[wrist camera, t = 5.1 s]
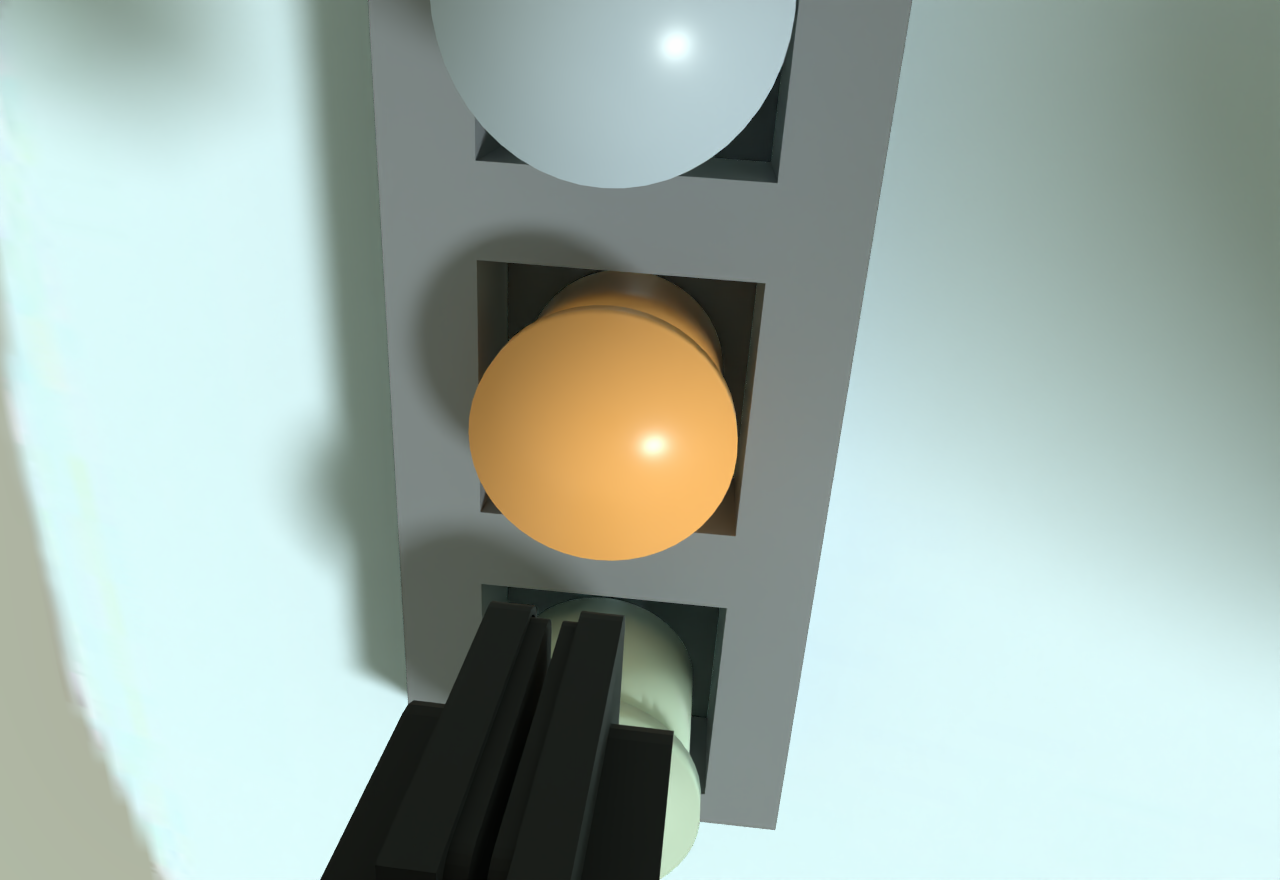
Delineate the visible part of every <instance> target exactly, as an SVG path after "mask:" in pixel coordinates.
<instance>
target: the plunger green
mask: <svg viewBox="0 0 1280 880" xmlns="http://www.w3.org/2000/svg"><path fill="white" fill-rule="evenodd" d="M582 611H589V612H599V613H608V614H617V615H625V636H624V651H623V667H622V682H621V698H620V713H619V724H620V725H629V726H637V727H646V728H654V729H663V730H671V731H674V736H673V746H672V757H671V767H670V777H669V788H668V798H667V808H666V819H665V829H664V839H663V849H662V860H661V870H660V879H661V878H663V877H664V876H666V875H667V874H669V873H670V872H671V871H672V870H673V869H675V868H676V867H677V866H678V865H679V864H680V863H681V862H682V860H683V859H684V858H685V857H686V856H687V854H688V852H689V851H690V849H691V848H692V846H693V844H694V841H695V839H696V836H697V833H698V828H699V824H700V798H701V788H700V781H699V776H698V773H697V770H696V766H695V764H694V762H693V760H692V758H691V756H690V754H689V750H690V730H691V710H692V690H693V670H692V663H691V660H690V657H689V654H688V652H687V650H686V648H685V645H684V644H683V642H682V641H681V639H680V638H679V636H678V635H677V634H676V633H675V632H674V630H673V629H672V628H671V627H670V626H669V625H667V624H666V623H665V622H664V621H663V620H662V619H660V618H659V617H657V616H656V615H654V614H653V613H651V612H649V611H647V610H645V609H644V608H642V607H639V606H637V605H634V604H631V603H628V602H624V601H621V600H616V599H610V598H596V597H593V598H580V599H575V600H570V601H566V602H563V603H560V604H557V605H555V606H553V607H551V608H549V609H547V610H545V611H544V612H542V613H541V614H539V615H538V616H537V618H546V619H550V620H551V624H552V634H551V658H552V655H553V651H554V648H555V645H556V641H557V638H558V635H559V631H560V628H561V625H562V622H563V621H573V622H578V620H579V616H580V613H581V612H582Z"/></svg>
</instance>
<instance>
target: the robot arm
mask: <svg viewBox="0 0 1280 880" xmlns="http://www.w3.org/2000/svg"><path fill="white" fill-rule="evenodd" d="M551 634H552V624H551V620H550V619H546V618H537V609H536V607H535V605H526V604H517V603H508V602H499V601H492V602H490V604H489V606H488V608H487V610H486V612H485V614H484V617H483V619H482V621H481V624H480V626H479V628H478V630H477V633H476V635H475V637H474V640H473V642H472V644H471V646H470V649H469V651H468V653H467V656H466V658H465V660H464V662H463V665H462V667H461V669H460V672H459V674H458V676H457V678H456V681H455V683H454V685H453V687H452V690H451V692H450V694H449V697H448V699H447V701H446V703H445V704H442V703H434V702H425V701H417V700H413V701H412V702H410V703H409V704H408V705H407V707H406V709H405V710H404V712H403V714H402V716H401V718H400V720H399V722H398V724H397V726H396V728H395V730H394V732H393V734H392V736H391V738H390V740H389V742H388V744H387V746H386V748H385V750H384V752H383V754H382V756H381V758H380V760H379V762H378V764H377V766H376V768H375V770H374V772H373V774H372V776H371V778H370V780H369V782H368V784H367V786H366V788H365V790H364V792H363V794H362V796H361V798H360V800H359V803H358V805H357V807H356V809H355V811H354V813H353V815H352V817H351V819H350V821H349V823H348V825H347V827H346V829H345V831H344V833H343V835H342V837H341V839H340V841H339V843H338V845H337V847H336V849H335V851H334V853H333V855H332V857H331V859H330V861H329V863H328V865H327V867H326V869H325V871H324V873H323V875H322V877H321V879H320V880H660V870H661V860H662V849H663V839H664V829H665V819H666V808H667V798H668V788H669V777H670V767H671V757H672V746H673V736H674V731H671V730H663V729H654V728H646V727H637V726H629V725H620V724H619V713H620V698H621V682H622V667H623V651H624V636H625V615H617V614H608V613H599V612H589V611H582V612H581V613H580V616H579V620H578V622H573V621H563V622H562V625H561V628H560V631H559V635H558V638H557V641H556V645H555V648H554V651H553V655H552V658H551Z"/></svg>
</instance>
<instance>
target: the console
mask: <svg viewBox="0 0 1280 880" xmlns="http://www.w3.org/2000/svg"><path fill="white" fill-rule="evenodd" d="M911 4H912V0H796V8H795V16H794V22H793V27H792V33H791V39H790V42H789V45H788V48H787V52H786V55H785V58H784V62H783V64H782V69H781V78H780V86H779V95H778V104H777V112H776V121H775V130H774V139H773V147H772V156H771V162H764V161H751V160H737V159H723V158H710V159H709V160H707V161H705V162H704V163H702V164H700V165H699V166H697V167H695V168H693V169H692V170H690V171H688V172H685V173H683V174H681V175H678V176H676V177H673V178H671V179H669V180H665V181H661V182H658V183H654V184H650V185H646V186H638V187H631V188H598V187H591V186H584V185H579V184H575V183H572V182H568V181H565V180H561V179H558V178H556V177H553V176H551V175H549V174H546V173H544V172H542V171H539V170H537V169H536V168H534V167H532V166H531V165H529V164H527V163H526V162H524V161H522V160H521V159H519V158H517V157H516V156H515V155H514V154H512V153H511V152H510V151H508V150H507V149H506V148H505V147H503V146H502V145H501V144H500V143H499V142H498V141H497V140H496V139H495V138H494V137H493V136H492V135H491V134H490V133H488V132H487V131H486V130H485V129H484V128H483V126H482V125H481V124H480V123H479V121H478V120H477V119H476V117H475V116H474V115H473V114H472V112H471V111H470V110H469V109H468V107H467V105H466V104H465V102H464V101H463V99H462V97H461V96H460V94H459V92H458V91H457V89H456V87H455V85H454V83H453V81H452V79H451V77H450V75H449V72H448V70H447V68H446V66H445V64H444V61H443V58H442V55H441V52H440V48H439V45H438V42H437V39H436V34H435V29H434V25H433V20H432V15H431V4H430V0H368V9H369V26H370V44H371V61H372V79H373V96H374V114H375V131H376V149H377V166H378V184H379V201H380V219H381V237H382V254H383V272H384V289H385V307H386V324H387V342H388V359H389V377H390V394H391V412H392V429H393V447H394V464H395V482H396V499H397V517H398V534H399V552H400V569H401V587H402V604H403V622H404V639H405V657H406V674H407V692H408V704H409V703H410V702H412V701H413V700H417V701H425V702H434V703H442V704H445V703H446V701H447V699H448V697H449V694H450V692H451V690H452V687H453V685H454V683H455V681H456V678H457V676H458V674H459V672H460V669H461V667H462V665H463V662H464V660H465V658H466V656H467V653H468V651H469V649H470V646H471V644H472V642H473V640H474V637H475V635H476V633H477V630H478V628H479V626H480V624H481V621H482V619H483V617H484V614H485V612H486V610H487V608H488V606H489V604H490V602H492V601H499V602H508V587H517V588H528V589H538V590H548V591H558V592H568V593H578V594H588V595H598V596H609V597H619V598H629V599H639V600H649V601H659V602H669V603H679V604H690V605H700V606H710V607H720V608H719V617H718V626H717V635H716V643H715V652H714V661H713V669H712V678H711V687H710V696H709V704H708V713H707V718H705V717H695V716H691V730H690V750H689V754H690V756H691V758H692V760H693V762H694V764H695V766H696V770H697V773H698V776H699V781H700V788H701V798H700V822H708V823H717V824H726V825H735V826H744V827H753V828H762V829H771V830H775V828H776V822H777V816H778V810H779V804H780V798H781V792H782V786H783V780H784V774H785V768H786V762H787V756H788V749H789V743H790V737H791V731H792V725H793V719H794V713H795V707H796V701H797V695H798V689H799V683H800V677H801V671H802V665H803V659H804V652H805V646H806V640H807V634H808V628H809V622H810V616H811V610H812V604H813V598H814V592H815V586H816V580H817V574H818V568H819V562H820V556H821V549H822V543H823V537H824V531H825V525H826V519H827V513H828V507H829V501H830V495H831V489H832V483H833V477H834V471H835V465H836V459H837V453H838V446H839V440H840V434H841V428H842V422H843V416H844V410H845V404H846V398H847V392H848V386H849V380H850V374H851V368H852V362H853V356H854V350H855V343H856V337H857V331H858V325H859V319H860V313H861V307H862V301H863V295H864V289H865V283H866V277H867V271H868V265H869V259H870V253H871V246H872V240H873V234H874V228H875V222H876V216H877V210H878V204H879V198H880V192H881V186H882V180H883V174H884V168H885V162H886V156H887V150H888V143H889V137H890V131H891V125H892V119H893V113H894V107H895V101H896V95H897V89H898V83H899V77H900V71H901V65H902V59H903V53H904V47H905V40H906V34H907V28H908V22H909V16H910V10H911ZM508 263H520V264H532V265H544V266H557V267H569V268H582V269H594V270H607V271H619V272H632V273H644V274H656V275H669V276H681V277H694V278H706V279H719V280H731V281H744V282H756V283H757V287H756V295H755V304H754V313H753V321H752V330H751V339H750V347H749V356H748V365H747V374H746V382H745V391H744V400H743V408H742V417H741V426H740V434H739V443H738V452H737V461H736V469H735V478H732V480H731V483H730V486H729V488H728V490H727V492H726V494H725V496H724V498H723V500H722V502H721V503H720V505H719V506H718V507H717V509H716V510H715V512H714V513H713V515H712V516H711V517H710V518H709V519H708V520H707V521H706V522H705V523H704V524H703V525H702V526H701V527H700V528H699V529H698V530H696V531H695V532H694V533H693V534H691V535H690V536H689V537H687V538H686V539H684V540H682V541H681V542H679V543H678V544H676V545H674V546H672V547H670V548H667V549H665V550H663V551H661V552H658V553H655V554H651V555H648V556H645V557H640V558H634V559H629V560H615V561H608V560H593V559H586V558H580V557H576V556H572V555H569V554H565V553H562V552H560V551H557V550H554V549H552V548H549V547H547V546H545V545H543V544H541V543H540V542H538V541H536V540H534V539H532V538H531V537H529V536H528V535H527V534H525V533H524V532H522V531H521V530H519V529H518V528H517V527H516V526H515V525H514V524H512V523H511V522H510V521H509V520H508V519H507V518H506V517H505V516H504V515H503V514H502V513H501V512H500V510H499V509H498V508H497V507H496V506H495V504H494V503H493V502H492V500H491V499H490V497H489V496H488V495H487V493H486V491H485V489H484V487H483V485H482V484H481V482H480V480H479V477H478V475H477V472H476V470H475V467H474V464H473V460H472V456H471V451H470V444H469V433H468V431H469V416H470V410H471V405H472V401H473V398H474V395H475V392H476V389H477V387H478V384H479V383H480V381H481V379H482V377H483V375H484V373H485V371H486V370H487V368H488V367H489V365H490V364H491V362H492V361H493V360H494V358H495V357H496V356H497V354H498V353H499V352H500V350H501V349H502V348H503V347H504V346H505V345H506V344H507V342H508Z"/></svg>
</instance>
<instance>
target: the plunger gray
mask: <svg viewBox="0 0 1280 880" xmlns="http://www.w3.org/2000/svg"><path fill="white" fill-rule="evenodd" d="M430 4H431V15H432V20H433V25H434V29H435V34H436V39H437V42H438V45H439V48H440V52H441V55H442V58H443V61H444V64H445V66H446V68H447V70H448V72H449V75H450V77H451V79H452V81H453V83H454V85H455V87H456V89H457V91H458V92H459V94H460V96H461V97H462V99H463V101H464V102H465V104H466V105H467V107H468V109H469V110H470V111H471V112H472V114H473V115H474V116H475V117H476V119H477V120H478V121H479V123H480V124H481V125H482V126H483V128H484V129H485V130H486V131H487V132H488V133H490V134H491V135H492V136H493V137H494V138H495V139H496V140H497V141H498V142H499V143H500V144H501V145H502V146H503V147H505V148H506V149H507V150H508V151H510V152H511V153H512V154H514V155H515V156H516V157H517V158H519V159H521V160H522V161H524V162H526V163H527V164H529V165H531V166H532V167H534V168H536V169H537V170H539V171H542V172H544V173H546V174H549V175H551V176H553V177H556V178H558V179H561V180H565V181H568V182H572V183H575V184H579V185H584V186H591V187H598V188H631V187H638V186H646V185H650V184H654V183H658V182H661V181H665V180H669V179H671V178H673V177H676V176H678V175H681V174H683V173H685V172H688V171H690V170H692V169H693V168H695V167H697V166H699V165H700V164H702V163H704V162H705V161H707V160H709V159H710V158H711V157H713V156H714V155H715V154H717V153H718V152H719V151H721V150H722V149H723V148H724V147H726V146H727V145H728V144H729V143H730V142H731V141H732V140H733V139H734V138H735V137H736V136H737V135H738V134H739V133H740V132H741V131H742V130H743V129H744V128H745V127H746V126H747V124H748V123H749V122H750V120H751V119H752V118H753V117H754V115H755V114H756V113H757V111H758V110H759V109H760V107H761V106H762V104H763V102H764V100H765V99H766V97H767V95H768V94H769V92H770V90H771V89H772V87H773V85H774V83H775V80H776V78H777V76H778V73H779V71H780V69H781V67H782V64H783V62H784V58H785V55H786V52H787V48H788V45H789V42H790V39H791V33H792V27H793V22H794V16H795V8H796V0H430Z"/></svg>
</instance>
